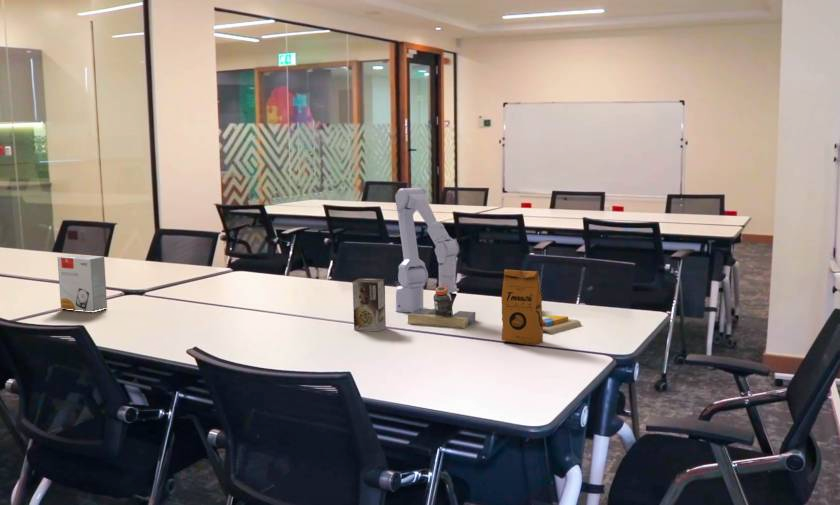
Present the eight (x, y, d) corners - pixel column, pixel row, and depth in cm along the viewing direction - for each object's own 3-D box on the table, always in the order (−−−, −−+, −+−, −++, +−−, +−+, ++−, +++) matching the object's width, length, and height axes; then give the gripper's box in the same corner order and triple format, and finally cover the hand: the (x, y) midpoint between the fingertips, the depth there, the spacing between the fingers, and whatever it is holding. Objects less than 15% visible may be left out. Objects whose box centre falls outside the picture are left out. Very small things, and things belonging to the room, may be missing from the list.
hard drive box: (60, 310, 294) (56, 256, 292) (76, 306, 302) (72, 254, 299) (92, 313, 289) (89, 258, 286) (108, 309, 296) (105, 256, 293)
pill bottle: (456, 315, 273) (453, 285, 268) (448, 323, 268) (445, 293, 264) (440, 313, 275) (437, 283, 271) (432, 321, 271) (429, 291, 266)
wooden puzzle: (536, 318, 277) (536, 308, 276) (582, 327, 263) (582, 316, 263) (503, 327, 265) (503, 316, 264) (550, 336, 251) (550, 325, 251)
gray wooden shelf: (407, 323, 268) (407, 314, 268) (420, 316, 279) (420, 308, 278) (464, 328, 261) (465, 319, 261) (475, 320, 272) (475, 312, 271)
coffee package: (536, 348, 235) (537, 274, 232) (496, 343, 241) (497, 271, 238) (547, 340, 244) (548, 269, 241) (509, 336, 250) (509, 266, 247)
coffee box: (386, 327, 263) (385, 278, 261) (379, 331, 257) (378, 282, 255) (360, 325, 266) (359, 277, 264) (352, 330, 260) (351, 280, 258)
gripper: (451, 279, 265) (451, 320, 267) (464, 272, 278) (464, 311, 280) (431, 278, 267) (431, 318, 269) (445, 271, 281) (445, 310, 283)
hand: (447, 314), depth 275 cm, fingers closed
